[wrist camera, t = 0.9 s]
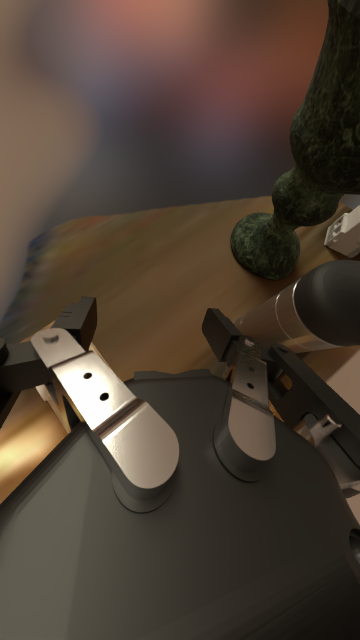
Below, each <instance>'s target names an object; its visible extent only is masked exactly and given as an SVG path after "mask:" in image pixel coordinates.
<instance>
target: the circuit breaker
mask: <svg viewBox="0 0 360 640" xmlns="http://www.w3.org/2000/svg"><path fill="white" fill-rule="evenodd" d="M338 221H341V222H340V223H338ZM324 245H325V246H326V245H327V246H329V248H331V249H333V250H335V251H337V252H339V253H341V254H343V255H345V256H348V257H350V258H353V257H354V256H356V255H358V254H359V252H360V205H359V206H358V207H357V208H356V209H354V210H353V211H352V212H351V213H350V214H348V213H345V214H343V215H342V216H341V217H340V218H339V219H338V220H336V221H335V222H334V224H333V225H331V226H329V227H328V231H327V235H326V239H325V243H324Z"/></svg>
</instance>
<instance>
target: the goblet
mask: <svg viewBox="0 0 360 640" xmlns="http://www.w3.org/2000/svg"><path fill="white" fill-rule="evenodd" d="M328 6H329V20H328V25H327V29H326V34H325V39H324V42H323V46H322V49H321V52H320V55H319V58H318V61H317V65H316V68H315V71H314V75H313V78H312V80H311V83H310V86H309V88H308V91H307V94H306V96H305V99H304V101H303V103H302V105H301V106H300V108H299V109H298V110H297V112H296V114H295V115H294V118H293V120H292V124H291V127H290V145H291V150H292V154H293V157H294V160H295V162H296V165H295V167H294V168H293V169H292V170H291V171H289V172H287V173H285V174H283V175H282V176H281V177H280V178H279V179H278V180H277V181H276V183H275V185H274V188H273V192H272V202H273V206H274V213H273V215H271V214H268V213H260V212H258V213H253V214H250V215H247V216H246V217H244V218H243V219H241V220H240V221H239V222H238V223H237V224H236V226H235V227H234V229H233V232H232V235H231V246H232V250H233V252H234V254H235V256H236V258H237V259H238V260H239V262H240V263H241V264H242V265H243V266H244V267H246V268H247V269H249V270H250V271H252V272H254V273H255V274H257V275H260V276H262V277H265V278H267V279H282V278H285V277H287V276H288V275H289V274H291V272H292V271H293V269H294V268H295V266H296V263H297V261H298V258H299V254H300V242H299V239H298V237H297V235H296V233H295V231H294V230H295V229H296V228H298V227H301V226H314V225H317V224H320V223H323V222H325V221H327V220H328V219H329V218H331V217H332V216H333V215H334V214H335V212H336V210H337V208H338V202H339V200H340V199H341V197H342V196H343V195H344V194H360V0H328Z"/></svg>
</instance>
